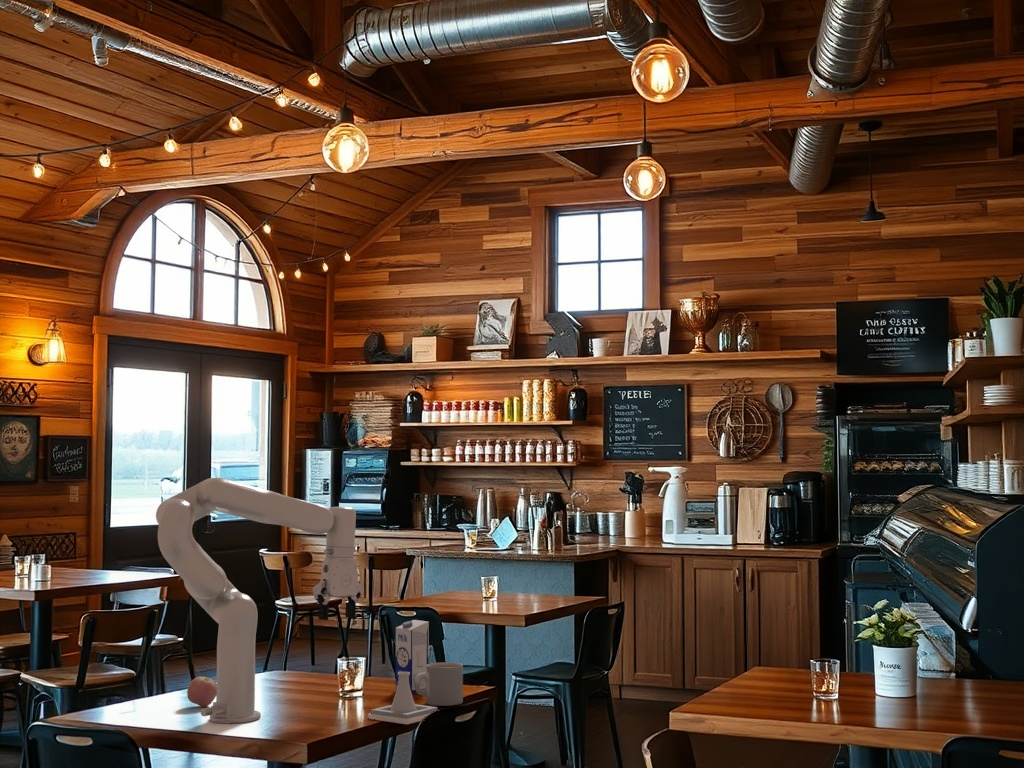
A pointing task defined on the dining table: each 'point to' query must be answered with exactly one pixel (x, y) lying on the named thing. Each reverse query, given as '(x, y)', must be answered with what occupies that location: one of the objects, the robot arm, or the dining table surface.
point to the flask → (403, 695)
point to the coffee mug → (442, 684)
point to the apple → (202, 691)
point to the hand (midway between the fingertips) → (336, 618)
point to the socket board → (401, 714)
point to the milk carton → (412, 651)
